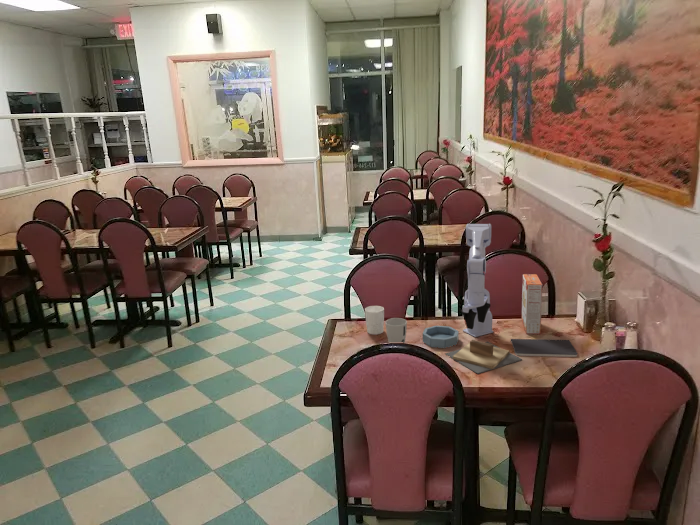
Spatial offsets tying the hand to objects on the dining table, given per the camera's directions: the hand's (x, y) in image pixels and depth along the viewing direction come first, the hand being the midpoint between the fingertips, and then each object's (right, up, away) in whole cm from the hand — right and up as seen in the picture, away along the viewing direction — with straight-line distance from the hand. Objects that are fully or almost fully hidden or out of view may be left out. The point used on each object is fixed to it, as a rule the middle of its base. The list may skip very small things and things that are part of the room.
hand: (475, 325), depth 187 cm
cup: (-29, -9, +8) cm, 31 cm away
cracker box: (+27, -4, +18) cm, 33 cm away
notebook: (+25, -9, -1) cm, 26 cm away
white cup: (-36, -6, +23) cm, 43 cm away
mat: (+1, -11, -5) cm, 12 cm away
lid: (+1, -10, -5) cm, 12 cm away
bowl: (-11, -7, +10) cm, 17 cm away
